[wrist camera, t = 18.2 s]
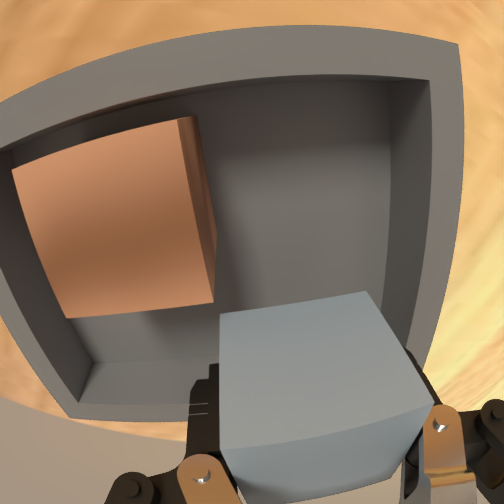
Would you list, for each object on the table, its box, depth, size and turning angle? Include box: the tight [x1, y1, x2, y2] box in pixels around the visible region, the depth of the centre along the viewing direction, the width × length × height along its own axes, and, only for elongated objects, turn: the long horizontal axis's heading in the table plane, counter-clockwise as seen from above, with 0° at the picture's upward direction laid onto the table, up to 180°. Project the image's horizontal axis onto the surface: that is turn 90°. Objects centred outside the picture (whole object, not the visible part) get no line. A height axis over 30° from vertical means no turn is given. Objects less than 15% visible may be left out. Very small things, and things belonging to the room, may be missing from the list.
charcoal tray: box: [0, 25, 464, 422], centre depth 12 cm, size 16×20×4 cm
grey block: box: [219, 291, 435, 504], centre depth 9 cm, size 5×5×5 cm
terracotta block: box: [12, 115, 217, 318], centre depth 10 cm, size 5×5×5 cm
